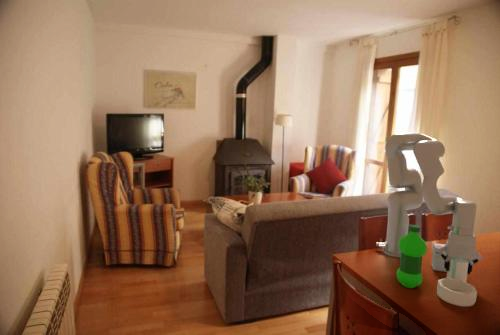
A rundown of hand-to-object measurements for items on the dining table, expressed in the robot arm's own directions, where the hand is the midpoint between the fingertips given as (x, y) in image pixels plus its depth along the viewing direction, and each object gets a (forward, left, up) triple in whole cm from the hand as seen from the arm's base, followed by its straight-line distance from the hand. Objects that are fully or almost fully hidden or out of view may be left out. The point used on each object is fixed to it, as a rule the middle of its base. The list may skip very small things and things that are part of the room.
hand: (457, 271), depth 141 cm
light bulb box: (-2, +12, -5) cm, 13 cm away
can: (0, 0, -5) cm, 5 cm away
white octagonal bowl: (-3, -14, -5) cm, 15 cm away
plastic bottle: (-19, -10, -5) cm, 22 cm away
